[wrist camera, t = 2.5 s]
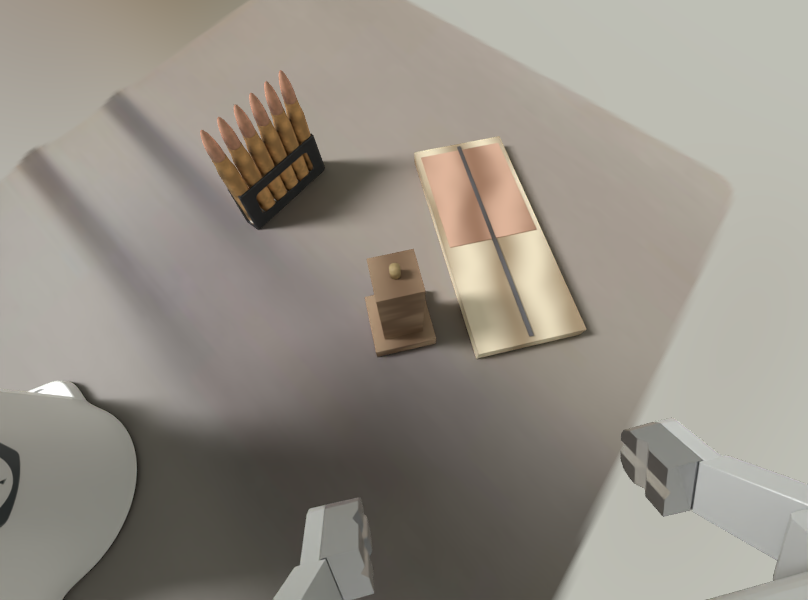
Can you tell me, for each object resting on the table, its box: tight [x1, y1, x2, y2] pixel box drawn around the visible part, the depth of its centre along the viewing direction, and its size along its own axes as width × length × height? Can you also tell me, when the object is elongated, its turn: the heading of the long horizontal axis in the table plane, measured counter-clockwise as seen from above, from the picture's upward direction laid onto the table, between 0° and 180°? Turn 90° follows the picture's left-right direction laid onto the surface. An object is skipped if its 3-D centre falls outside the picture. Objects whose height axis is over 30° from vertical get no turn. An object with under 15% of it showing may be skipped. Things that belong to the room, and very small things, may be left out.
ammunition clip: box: [200, 70, 325, 229], centre depth 36 cm, size 11×2×12 cm, turn 142°
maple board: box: [415, 136, 586, 359], centre depth 38 cm, size 10×24×2 cm, turn 13°
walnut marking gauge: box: [365, 249, 436, 357], centre depth 30 cm, size 6×6×11 cm
